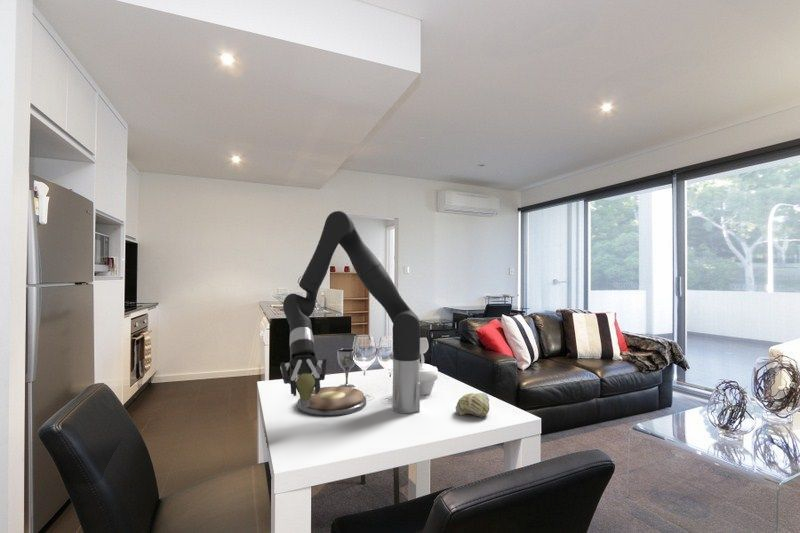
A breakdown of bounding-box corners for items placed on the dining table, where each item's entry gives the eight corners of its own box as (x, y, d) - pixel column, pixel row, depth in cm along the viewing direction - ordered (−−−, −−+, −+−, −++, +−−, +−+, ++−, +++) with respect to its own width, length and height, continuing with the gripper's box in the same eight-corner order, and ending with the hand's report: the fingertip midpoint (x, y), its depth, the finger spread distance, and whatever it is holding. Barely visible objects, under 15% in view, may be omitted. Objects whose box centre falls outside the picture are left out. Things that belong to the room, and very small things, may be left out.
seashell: (448, 410, 128) (459, 381, 131) (470, 420, 131) (480, 392, 134) (465, 418, 119) (477, 388, 122) (488, 429, 122) (499, 399, 125)
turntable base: (368, 394, 147) (368, 390, 147) (362, 416, 123) (362, 412, 123) (306, 393, 147) (306, 389, 147) (288, 416, 123) (288, 411, 123)
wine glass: (335, 384, 159) (336, 348, 160) (354, 383, 162) (354, 347, 162) (338, 390, 152) (338, 352, 152) (358, 388, 154) (358, 351, 155)
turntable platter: (366, 390, 146) (366, 386, 146) (360, 410, 124) (360, 405, 124) (308, 390, 146) (308, 385, 146) (292, 409, 124) (292, 404, 124)
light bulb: (316, 404, 114) (316, 371, 114) (313, 411, 109) (313, 375, 109) (298, 405, 114) (298, 371, 114) (293, 411, 108) (293, 376, 109)
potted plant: (436, 398, 143) (437, 331, 143) (405, 396, 144) (406, 330, 145) (438, 388, 155) (439, 327, 156) (410, 387, 157) (410, 326, 158)
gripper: (278, 339, 116) (280, 389, 105) (326, 336, 121) (332, 384, 110) (278, 353, 121) (279, 403, 110) (323, 350, 126) (329, 397, 115)
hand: (306, 393), depth 110 cm, fingers closed on light bulb, 5 cm apart
